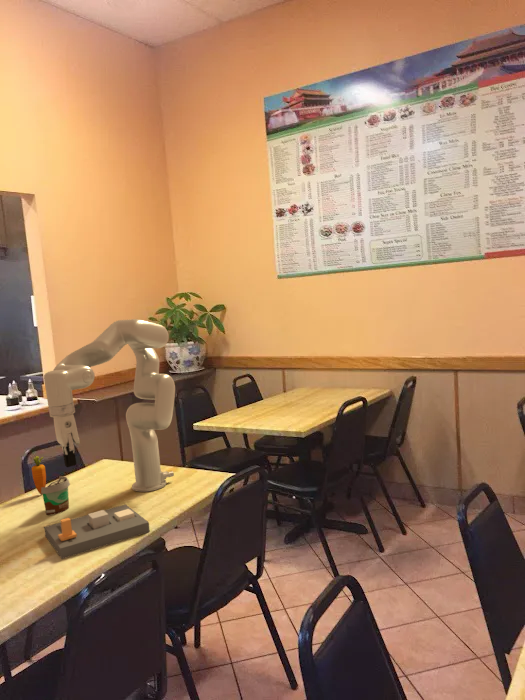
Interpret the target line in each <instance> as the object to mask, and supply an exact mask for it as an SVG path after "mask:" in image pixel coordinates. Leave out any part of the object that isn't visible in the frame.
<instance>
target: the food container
mask: <svg viewBox="0 0 525 700" xmlns="http://www.w3.org/2000/svg"><path fill="white" fill-rule="evenodd" d="M70 485H71V483H70V480H69V479H68V477H67V476H62V475H60V476H59V477H58V479H57V480H55V481H53V482H51V483H50V484H48V485H47V486H45V487H41V494H42V498H43V503H44V509H45V513H46V515H47V516H51V515H57V514H61V513H63V512H66V511H68V510H69V509H70V505H69V504H70V502H69V501H70V499H69V487H70ZM41 494H40V495H41Z"/></svg>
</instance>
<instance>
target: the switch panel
mask: <svg viewBox="0 0 525 700" xmlns="http://www.w3.org/2000/svg"><path fill="white" fill-rule="evenodd" d="M126 509H130V510H131V511H132V512H134V516H135V517H133V518H130V519H127V520H123V521H120V522H118V521H117V520H116V519H115V516H114V513H115V512H119V511H123V510H126ZM103 510H104V511H105V512H106V513H108V516H109V525H106V526H102V527H99V528H96V529H91V528H90V527H89V519H88V514H86V515H83V516H79V517H75V518H72V519H71V518H70V519H71V527H72V531H74V532H75V533H76V534H77V537H74V538H71V539H68V540H64V541H61V540H60V539H59V538H58V535H59V534H62V529H61V521H60V522H57V523H54V524H53V523H52V524H50V525H46V526H43V528H44V536H45V538H46V539H47V541H48V542H49V544H50V545H51V546H52V547H53V549H54V550H55V552H56V553H57V554H58V556H59V557H60V559H61V560H63V559H66V558H69V557H72V556H75V555H78V554H81V553H85V552H86V553H87V552H89V551H91V550H95V549H98V548H101V547H104V546H108V545H110V544H114V543H117V542H120V541H121V542H122V541H123V540H126V539H127V540H128V539H131V538H134V537H137V536H140V535H143V534H147V533H150V523H149V521H148V520H146V519H145V518H144V517H143V516H141V514H139V513H138V512H136V511H135V509H133V508H131V507H130V506H128V505H127V504H123V505H118V506H115V507H111V508H108V509H103Z"/></svg>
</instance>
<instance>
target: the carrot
mask: <svg viewBox="0 0 525 700" xmlns="http://www.w3.org/2000/svg"><path fill="white" fill-rule="evenodd" d="M43 459H44V456H41V457H40V456H38V455H36V456H34V457H33V461H34V464H35V465H34V466H32V467H31V473H32V475H31V476H32V480H33V483H34V485H35V488H36V490H37V492H38V493H39V494H40V495H41V496H43V494H41V487H47V486H46V485H47V473H46V466H45V465H44V464H41V462H42V460H43Z"/></svg>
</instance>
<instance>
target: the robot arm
mask: <svg viewBox="0 0 525 700" xmlns="http://www.w3.org/2000/svg"><path fill="white" fill-rule="evenodd" d="M169 337H170V336H169V331H168V330H167V328H166V327H165V326H164V325H161V324H159V323H155V322H150V321H147V320H143V319H138V318H136V319H135V318H133V319H119V320H116V321H113V322H112V323H111V324H110V325H109V326H108V327H107V328H106V329H105V330H103V332H101V334H100V335H98V336H97V337H96V338H95V339H94V340H93V341H91V342H90V343H87V344H86V345H84V346H82V347H80V348H78V349H77V350H73V352H71V353H70V354H68V355H66V356H65V357H64V358H63V359H62V360H61V361H60V362H59V363H58V364H56V366H55V367H54V369H53V370H50V371H48V372H46V373H45V374H43V382H44V386H45V387H44V388H45V394H46V400H47V407H48V412H49V417H50V418H53V425H54V432H55V438H56V441H57V444H60V446H61V448H62V453H63V460H64V461H63V462H64V466H65V467H66V468H70V467H73V466H77V458H76V453H75V451H76V449H75V444H76V445H79V444H80V443H81V441H80V437H79V436H80V435H79V432H78V431H79V430H78V428H77V427H78V426H77V423H76V418H75V415H74V414H75V413H76V408H75V403H74V396H73V390H81V389H85V388H88V387H89V386H91V385H92V384H93V383H94V381H95V371H94V370H93V369H92V368H91V367H95V366H98V365H102V364H105V363H108V362H109V361H112V359H113V358H115V356H116V355H117V354H118V353H119V352H121V350H122V349H123V348H124V347H125V346H126V345H128V346H129V347H130V349H131V350H132V352H133V354H134V356H135V360H136V362H135V372H134V373H135V374H134V380H133V381H134V382H133V394H134V396H135V397H136V398H138V399H141V400H152V401H153V400H154V402H152V403H151V402H136V403H135V402H134V403H133V404H131V405H129V406H128V407H127V410H126V412H125V419H126V423H127V427H128V430H129V435H130V442H131V451H132V459H133V468H134V475H135V477H134V478H135V482H133V483H132V486H131V489H132V490H133V491H134V492H141V493H144V492H152V491H157V490H160V489H162V488H164V487H166V486H167V480H166V479H167V478H171V477H175V475H174V471H173V470H171V471H167V470H166V471H162V470H161V460H160V459H161V458H160V450H159V441H158V440H159V439H158V436H157V433H156V431H155V430H159V431H161V430H166V429H167V428H168V427H170V425H171V424H172V423H171V422H172V420H173V415H174V414H173V413H174V405H175V395H176V385H175V384H176V383H175V381H174V379H173V377H172V376H171V375H169V374H167V373H160V359H159V358H160V357H159V355H158V354H157V352H156V350H155V349H161V348H164V347H165V346H166V345H167V344H168V342H169Z"/></svg>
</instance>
